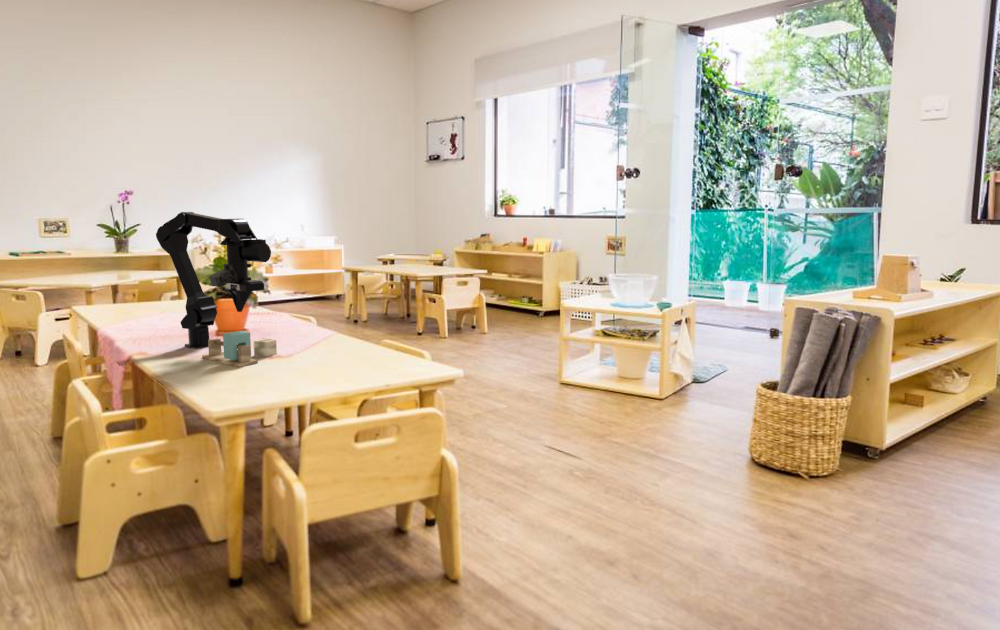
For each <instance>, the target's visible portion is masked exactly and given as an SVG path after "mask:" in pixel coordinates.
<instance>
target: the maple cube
mask: <svg viewBox="0 0 1000 630" xmlns="http://www.w3.org/2000/svg"><path fill="white" fill-rule="evenodd" d="M253 352H254V353H253V354H254V357H265V358H269V357H272V356H274V354H275V355H277V353H278V351H277V339H276V338H275V339H274V338H273V339H272V338H261V339H256V340H254V341H253ZM271 355H272V356H271Z"/></svg>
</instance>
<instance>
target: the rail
mask: <svg viewBox="0 0 1000 630" xmlns="http://www.w3.org/2000/svg"><path fill="white" fill-rule="evenodd" d="M207 347H208V353H206V354H202V359H206V360H208V361H209V360H210V361H214V362H218V363H222V364H225V365H231V366H233V367H238V368H241V367H245V366H250V365H256V364H258V363H259V360H258V359H253V358H252V348H251V349H250V345H243V346H241V345H237V350H238V359H236V360H230V359H226V358H224V351H222V347H224V345H223V341H222V340H221V338H212V339H209V340H208V346H207Z"/></svg>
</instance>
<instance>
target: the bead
mask: <svg viewBox="0 0 1000 630" xmlns="http://www.w3.org/2000/svg"><path fill="white" fill-rule="evenodd" d="M222 340H223V341H222V342H223V345H224V346H223V352H224V358H226V359H230V360H236V359H238V349H237V345H241V346H243V345H250V349H251V350H252V346H251V332H250V331H245V330H239V331H231V332H226V333H223V334H222Z"/></svg>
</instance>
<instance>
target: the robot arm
mask: <svg viewBox="0 0 1000 630" xmlns="http://www.w3.org/2000/svg"><path fill="white" fill-rule="evenodd" d="M193 228H198V229H203V230H208V231H214V232H216V233H218V234H219V235H220V236H222V237H224V239H223V240H222V241H221V242H220V243H219V244H220V246H226V260H227V261H226V263H224V265H223V269H222V270H219V271H217V272H214V273H212V274H210V275H208V279H209V281H210V284H211V286H212V287H216V288H222V287H224V286H225V288H224V289H223V290H224V291H225V292H227V293H228V294H229V295H230V297H231V298H232V301H233V305H234V307H235V309H236V312H238V313H241V312H242V311H243V310H244V308H245V305H246V304H247V301H248V299H249V297H250V295H251V294H252V292H256V291H265V282H263V281H262V280H258V279H252V277H249V269H248V268H251V263H248V262H252V263H254V262H255V263H267V262H268V261H269V260H270V258H271V255H272V250H271V248H270V246H269V244H268V243H267V239H265V238H260V239H258V238H257V236H256V235H255V233H254V232H253V230H252V228H251V226H250V224H249V222H248V220H247V219H245V218H219V217H215V216H212V215H211V216H209V215H204V214H200V213H195V212H194V211H181V212H180V213H179V212H178V214H176V216H174V217H173V218H172V219H169V220H168V221H166V222H164V224H162V225H161V226H159V227H158V229H157V230H156V231H157V232H156V233H155V237H156V240H157V242H158V243H159V245H160V248H162V250H164V251H165V252H166V253H167V254H168V255H169V256H170V258H171V260H172V263H173V265H174V268H175V271H176V274H177V276H178V278H179V282H180V283H181V286H182V289H183V291H184V294H185V296H186V302H185V310H186V315H184V316H183V318H182V319H181V321H180V325H181V328H182V329H183V330H184V329H185V330H186V329H187V332H188V335H187V336H188V343H184V347H187V348H192V349H200V348H207V347H208V340H210V332H209V331H210V330H209V328H210V327H209V326H214V324H215V320H216V318H217V316H218V311H217V310H218V306H217V305H216V302H215V300H214V297H213V296H212V295H209V296H208V295H206V294H205V293H204V291H203V288H202V286H201V284H200V281H199V278H198V276H197V273H196V271H195V269H194V265H193V263H192V260H191V258H190V255H189V253H188V245H189V239H188V236H189V235H190V234H191V233H192V231H193Z"/></svg>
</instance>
